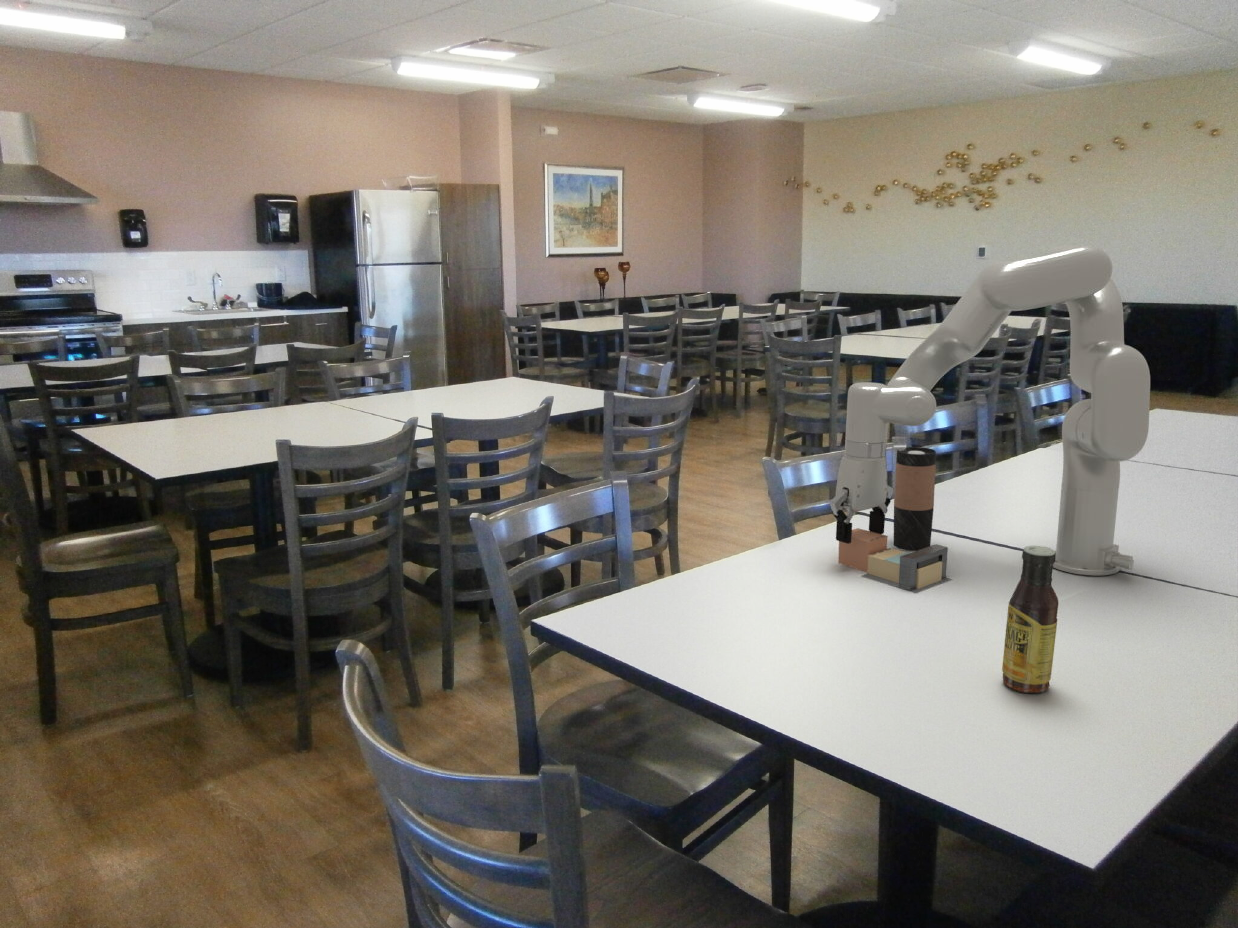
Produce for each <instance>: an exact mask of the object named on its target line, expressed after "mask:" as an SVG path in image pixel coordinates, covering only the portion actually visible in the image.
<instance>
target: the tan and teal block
mask: <svg viewBox="0 0 1238 928" xmlns="http://www.w3.org/2000/svg"><path fill="white" fill-rule="evenodd" d="M909 553H911V551H906V550H902V549H898V548H897V549H896V548H894V547H890V548H887V549H886V550H884V551H880V552H878V553H873V554H871V555H868V572H867V573H868V574H871V575H874V576H877V577H881V578H884V579H887V580H890V581H894V582H897V583H899V568H900V556H903V555H906V554H909ZM941 577H942V562H941V561H938V562H936V563H934V564H931V565H928V566H925V567H922V568H920V569H917V570H916V589H919V588H922V587H925V586H927V585H930V584H933V583H935V582H938V581H941Z"/></svg>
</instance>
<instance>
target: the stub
mask: <svg viewBox="0 0 1238 928" xmlns="http://www.w3.org/2000/svg"><path fill="white" fill-rule="evenodd" d="M888 538H889V536H888V535H886V534H885V535H884V534H878V533H874V532H871V531H869V530H866V529H862V528H860V527H857V528H854V529H853V528H852V537H851V543H849V544H847V543H844V542H840V541H838V564H840V565H844V566H846V567H850V568H852V569H853V568H854V569H855V570H856V569H857V570H860V571H863V572H866V573H868V555H871V554H873V553H878V552H880V551H884V550H886V549H888Z"/></svg>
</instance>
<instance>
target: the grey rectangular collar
mask: <svg viewBox="0 0 1238 928" xmlns="http://www.w3.org/2000/svg"><path fill="white" fill-rule="evenodd" d="M948 549H949V547H948V546H945V545H941V544H933V545H930V547H927V548H924V549H921V550H918V551H911V552H910V553H909V554H906V555H903V556H900V568H899V588H898V589H900V588H902V589H901V590H903V589H905V590H904V591H907V590H908V591H907V592H910V591H912V590H914V589H916V570H917V569H920V568H922V567H925V566H928V565H931V564H934V563H936V562H938V561H941V562H942V577H941V579H943V578H946V577H947V567H948Z"/></svg>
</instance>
